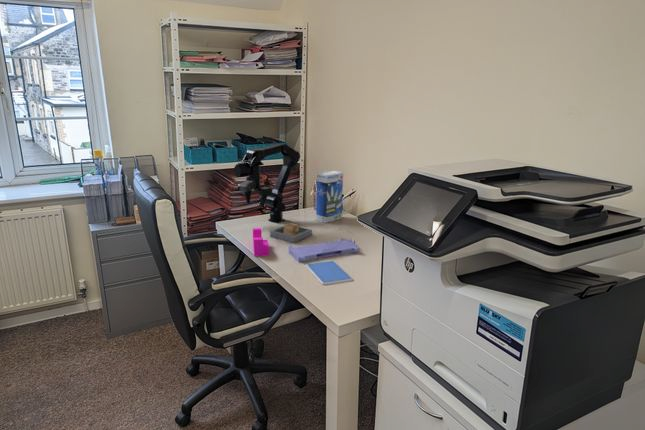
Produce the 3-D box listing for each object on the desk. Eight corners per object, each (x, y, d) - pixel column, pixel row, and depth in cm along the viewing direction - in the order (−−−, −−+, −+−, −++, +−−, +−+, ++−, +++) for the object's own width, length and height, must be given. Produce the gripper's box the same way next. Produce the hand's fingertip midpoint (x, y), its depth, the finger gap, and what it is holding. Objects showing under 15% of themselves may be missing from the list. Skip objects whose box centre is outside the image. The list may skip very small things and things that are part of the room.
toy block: (269, 255, 183) (269, 239, 181) (254, 256, 182) (253, 239, 180) (266, 243, 197) (266, 227, 195) (253, 244, 196) (252, 228, 194)
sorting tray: (289, 229, 216) (289, 223, 216) (311, 235, 209) (311, 229, 208) (270, 236, 206) (270, 230, 205) (293, 243, 198) (293, 237, 197)
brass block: (290, 232, 210) (290, 223, 209) (298, 235, 208) (298, 225, 206) (283, 235, 206) (283, 225, 205) (291, 237, 204) (291, 227, 202)
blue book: (305, 266, 175) (305, 263, 174) (333, 262, 179) (333, 259, 179) (322, 286, 157) (322, 283, 157) (353, 282, 162) (353, 278, 162)
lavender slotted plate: (363, 254, 189) (346, 243, 201) (364, 245, 187) (346, 234, 200) (300, 265, 176) (286, 252, 188) (300, 255, 174) (286, 243, 187)
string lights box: (325, 223, 228) (326, 175, 220) (315, 220, 233) (316, 173, 225) (341, 218, 237) (343, 172, 229) (331, 215, 242) (333, 170, 234)
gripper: (228, 174, 212) (230, 205, 216) (256, 180, 201) (257, 212, 206) (245, 171, 220) (246, 200, 225) (272, 176, 210) (272, 207, 215)
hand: (254, 205), depth 217 cm, fingers open, 9 cm apart
